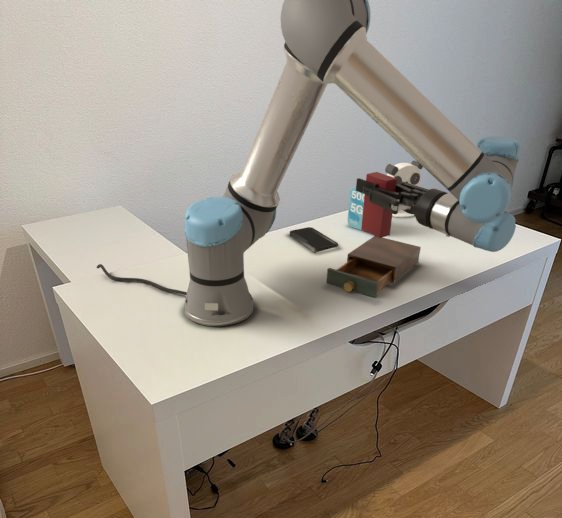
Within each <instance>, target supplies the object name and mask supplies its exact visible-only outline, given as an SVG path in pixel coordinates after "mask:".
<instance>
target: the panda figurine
mask: <svg viewBox="0 0 562 518" xmlns="http://www.w3.org/2000/svg"><path fill="white" fill-rule="evenodd" d="M423 168H424V167H423V166H422V165H421V164H420V163H419V162H418V161H417V160H412V161H411V162H410V163H409V162H399V163H396V164H391V163H388V164H387V165H386V166H385V169H384V171H385V173H386V175H388V176H391V177H393V178H396V179H397V183H398V184H400V183H401V182H405V183H409V184H412V185H415V186H419V187H420V183H421V177H422V175H421V170H423ZM411 217H415V215H414V214H409V213H407V212H405V211H403V210H398V214H392V218H411Z"/></svg>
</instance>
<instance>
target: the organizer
mask: <svg viewBox="0 0 562 518" xmlns="http://www.w3.org/2000/svg"><path fill="white" fill-rule="evenodd" d="M421 249H422V248H421V246H418V245H415V244H411V243H407V242H402V241H398V240H394V239H390V238H386V237H382V238H379V237H376V236H374V235H373V236H372V237H371V238H370V239H368V240H367V241H364V242H363V243H362V244H361V245H359V246H358V247H356V248H355V249H353V250H352V251H350V252H349V253H347V259H346V263H347V262H348V261H350V260H351V259H352V258H357V259H361V260H365V261H368V262H372V263H376V264H379V265H383V266H387V267H390V268H394V270H393V277H392V281H391V283H396V282H397V280H398V279H400V278H401V277H402V276H403V275H404V274H406V273H407V272H408V271H409V270H410V269H412V268H413V267H414V266H416V265H417V264H418V263H419V260H420V254H421Z"/></svg>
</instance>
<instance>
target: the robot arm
mask: <svg viewBox="0 0 562 518" xmlns="http://www.w3.org/2000/svg"><path fill="white" fill-rule="evenodd" d="M370 24H371V5H370V1H369V0H283V3H282V6H281V11H280V30H281V34H282V38H283V39H284V41H285V42H284V44H283V51H284V54H285V58H286V62H285V64H284V66H283V69H282V72H281V74H280V76H279V79H278V81H277V83H276V86H275V89H274V91H273V93H272V95H271V98H270V99H269V103H268V105H267V108H266V110H265V113H264V115H263V118H262V120H261V121H260V122H261V123H260V125H259V127H258V130H257V131H256V134H255V137H254V139H253V141H252V144H251V147H250V149H249V151H248V154H247V156H246V158H245V161H244V164H243V166H242V169H241V171H239V172H237V173H234V174H232V175H231V177H230V178H229V180H228V184H227V186H226V188H225V190H224V193H223V195H222V196H214V197H207V198H206V199H200V200H197V201H195V202H194V203H192V204H191V205H190V206H189V207H188V208H187V209H186V212H185V214H184V227H183V229H184V235H185V242H186V250H187V251H186V253H187V260H188V271H189V282H188V286H187V291H184V290H178V289H173V288H169V287H165V286H163V285H160V284H158V283H156V282H153V281H151V280H149V279H144V278H139V277H120V276H115V275H112V274H110V273H109V271H107V269H106V267H105V266H104V265H103V264H102V263H99V264H98V265H96V269H100V268H101V271H102V272H103V273H104V274H105V275H106V277H108V278H109V279H111V280H114V281H120V282H123V281H124V282H138V283H144V284H148V285H151V286H152V287H155V288H157V289H160V290H162V291H165V292H170V293H174V294H179V295H183V296H185V299H184V313H185V316H186V317H187V318H188V319H189V320H190V321H192V322H193V323H196V324H199V325H202V326H207V327H227V326H232V325H236V324H238V323H241V322H243V321H246V320H247V319H249V317H251V316H252V314H253V312H254V299H253V297H252V294H251V292H250V290H249V287H248V283H247V280H246V278H245V261H244V259H245V258H244V255H245V252H246V251H247V250H249V249H250V248H251V247H252V246H253V245H254V244H255V243H256V242H257V241H259V239H262V238H263V237H264V236H266V234H267V233H268V232H269V231H270V230H271V228H272V226H273V225H274V223H275V221H276V217H277V208H278V206H279V204H280V200H281V197H280V195H279V192H278V190H279V187H280V185H281V184H282V181H283V179H284V177H285V174H286V172H287V171H288V169H289V166H290V164H291V162H292V161H293V158H294V156H295V153H296V152H297V149H298V148H299V146H300V144H301V141H302V139H303V137H304V135H305V133H306V130H307V128H308V127H309V125H310V122H311V120H312V117H313V116H314V114H315V111H316V109H317V108H318V105H319V103H320V101H321V99H322V97H323V95H324V93H325V91H326V89H327V87H328V84H329V85H330V84H331V85H332V84H333V85H335V86H336V87H338V88H339V89H340V90H341V91H342V92H343V93H344V94H345V95H346V96H347V97H348V98H349V99H350V100H352V101H353V102H354V103H355V104H356V105H357V107H359V108H360V109H361V110H362V111H363V112H364V113H365V114H366V115H368V117H370V118H371V120H372V121H374V122H375V123H376V124H377V125H378V126H379V127H380V128H381V129H383V130H384V131H385V132H386V133H387V134H388V136H389V137H391V138H392V139H393V140H394V141H395V142H396V143H397V144H398V145H399V146H400V147H401V148H403V150H405V152H407V153H408V154H409V155H410V156H411V157H412V158H413V159H414V161H417V162H419V163H420V164H421V165H422V166H423V168H424V170H426V172H428V173H429V174H430V175H431V176H432V177H433V178H434V179H435V180H436V181H438V182H439V184H441V186H443V187H444V188H445V189H446V190H447V191H448V192H447V191H444V190H440V189H437V188H430V189H428V188H425V187H422V186H420V185H419V186H415V185H412V184H409V183H405V182H401V183H400V184H398V183H396V191H395V192H393V191H390V190H386V189H383V188H379V184H374V183H371V182H368V181H366V179H363V178H359V177H358V178H356V183H355V186H356V191H358V192H361V193H363V194H366V195H368V196H369V202H371V203H374V204H376V205H378V206H380V207H382V208H385V209H387V210H389V211H390V212H391V213H392V214H398V210H403V211H405V212H407V213H409V214H414V217H415V220H416V222H417V223H418V224H419V225H420V226H423V227H426V228H428V229H430V230H435V231H436V232H438V233H441V234H444V235H445V237H447V238H450V237H452V238H454V239H457V240H459V241H461V242H464V243H466V244H468V245H471V246H473V247H474V248H476V249H481V250H483V251H487V252H491V253H495V252H496V253H497V252H500V251H502V249H504V248H506V246H507V245H509V243H510V242H511V241H512V238H513V237H514V234H515V232H516V226H517V225H516V217H515V216H514V215H513V214H511V213H510V212H508V211H507V209H508V207H509V205H510V204H511V200H512V199H513V198H512V197H513V185H514V178H515V173H516V170H517V166H518V163H519V159H520V157H519V156H520V152H521V143H520V141H518V140H516V139H514V138H511V137H506V136H498V135H497V136H494V135H493V136H492V135H491V136H484V137H481V138H480V139H479V140H478V141H476V144H475V142H473V140H471V139H470V138H469V137H468V136H467V135H466V134H465V133H464V132H463V131H462V130H461V129H459V127H458V126H456V124H455V123H453V121H452V120H450V119H449V118H448V117H447V116H446V115H445V114H444V113H443V112H442V111H441V110H440V109H439V108H438V107H437V106H436V105H435V104H434V103H433V102H432V101H431V100H430V99H429V98H428V97H427V96H425V95H424V94H423V92H421V90H419V89H418V88H417V87H416V86H415V85H414V84H413V83H412V82H411V81H410V80H409V79H408V78H407V77H406V76H405V75H404V74H403V73H402V72H401V71H400V70H399V69H398V68H397V67H396V66H394V65H393V64H392V62H390V61H389V60H388V59H387V58H386V57H385V56H384V55H383V54H382V53H381V52H380V51H379V50H378V49H377V48H376V47H375V46H374V45H373V44H372V43H371V42H369V40H368V38H367V34H368V31H369V28H370Z"/></svg>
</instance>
